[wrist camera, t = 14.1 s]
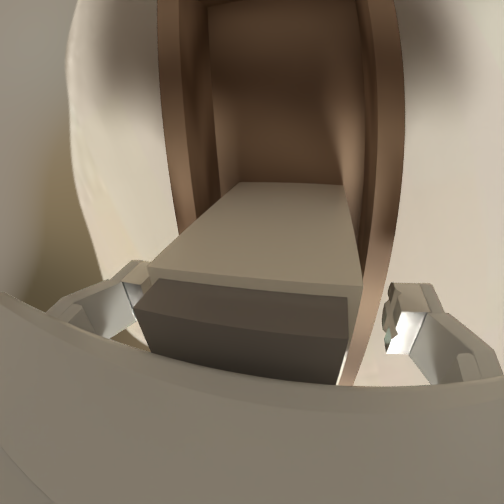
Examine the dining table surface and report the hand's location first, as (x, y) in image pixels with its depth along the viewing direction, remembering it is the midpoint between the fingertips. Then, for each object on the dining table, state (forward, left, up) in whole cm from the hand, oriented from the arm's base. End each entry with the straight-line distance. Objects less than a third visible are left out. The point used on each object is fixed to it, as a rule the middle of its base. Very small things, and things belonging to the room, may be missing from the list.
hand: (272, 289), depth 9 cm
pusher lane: (-1, -1, -6) cm, 6 cm away
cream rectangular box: (0, 0, -5) cm, 5 cm away
